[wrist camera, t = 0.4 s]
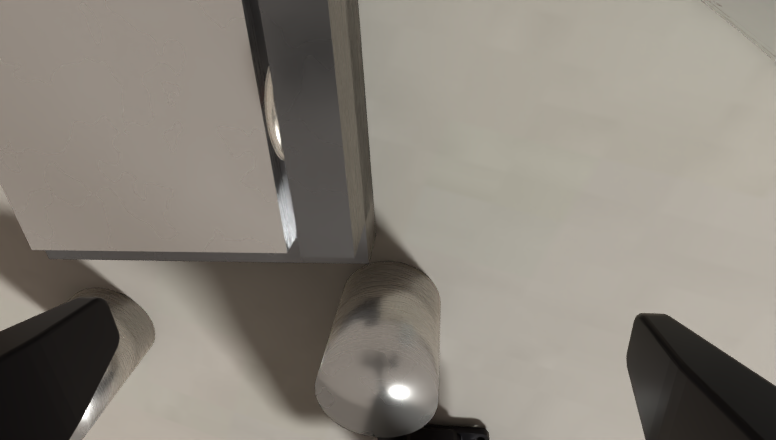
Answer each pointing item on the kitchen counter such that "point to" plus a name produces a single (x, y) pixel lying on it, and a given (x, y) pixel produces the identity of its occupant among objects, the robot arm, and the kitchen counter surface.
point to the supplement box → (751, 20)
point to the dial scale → (187, 129)
